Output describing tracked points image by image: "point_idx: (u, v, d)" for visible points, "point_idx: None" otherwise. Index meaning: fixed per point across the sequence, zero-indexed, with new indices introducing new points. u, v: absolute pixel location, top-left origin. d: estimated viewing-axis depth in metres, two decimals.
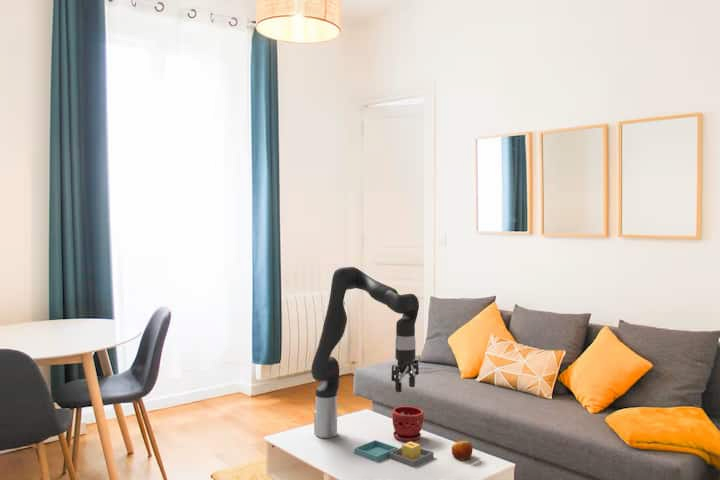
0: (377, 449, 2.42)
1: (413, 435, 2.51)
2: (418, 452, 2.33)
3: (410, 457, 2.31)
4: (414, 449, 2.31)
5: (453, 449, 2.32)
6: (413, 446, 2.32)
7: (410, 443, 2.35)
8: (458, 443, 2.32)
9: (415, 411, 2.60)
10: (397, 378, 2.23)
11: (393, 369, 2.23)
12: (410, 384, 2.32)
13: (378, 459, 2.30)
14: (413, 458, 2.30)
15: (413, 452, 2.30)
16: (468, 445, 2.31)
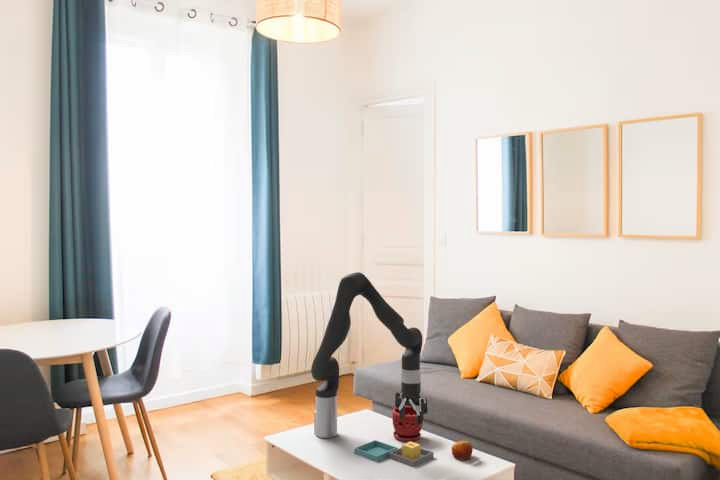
0: (377, 449, 2.42)
1: (413, 435, 2.51)
2: (418, 452, 2.33)
3: (410, 457, 2.31)
4: (414, 449, 2.31)
5: (453, 449, 2.32)
6: (413, 446, 2.32)
7: (410, 443, 2.35)
8: (458, 443, 2.32)
9: (415, 411, 2.60)
10: None
11: (424, 402, 2.27)
12: (402, 417, 2.35)
13: (378, 459, 2.30)
14: (413, 458, 2.30)
15: (413, 452, 2.30)
16: (468, 445, 2.31)
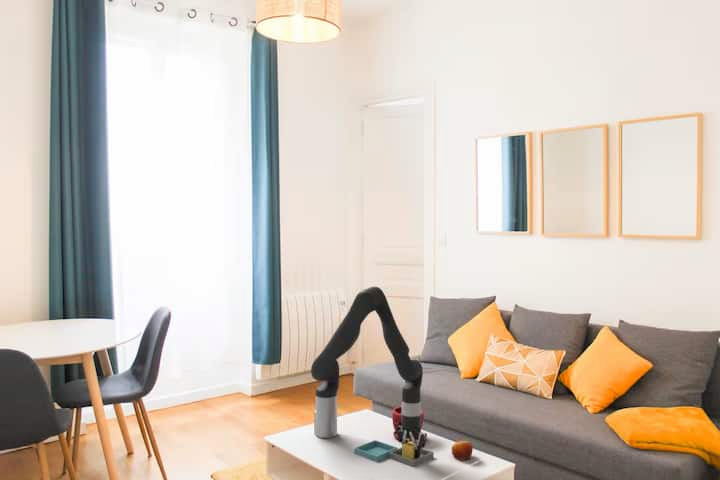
0: (377, 449, 2.42)
1: None
2: None
3: (410, 457, 2.31)
4: (414, 449, 2.31)
5: (453, 449, 2.32)
6: (413, 446, 2.32)
7: (410, 443, 2.35)
8: (458, 443, 2.32)
9: None
10: None
11: (423, 438, 2.28)
12: None
13: (378, 459, 2.30)
14: (413, 458, 2.30)
15: (413, 452, 2.30)
16: (468, 445, 2.31)
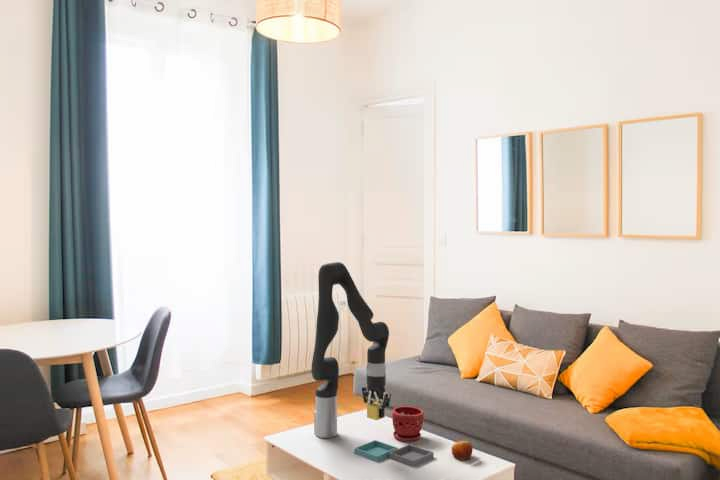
0: (377, 449, 2.42)
1: (413, 435, 2.51)
2: None
3: (374, 416, 2.35)
4: (378, 409, 2.35)
5: (453, 449, 2.32)
6: (377, 406, 2.36)
7: (375, 403, 2.39)
8: (458, 443, 2.32)
9: (415, 411, 2.60)
10: None
11: (387, 398, 2.33)
12: None
13: (378, 459, 2.30)
14: (377, 417, 2.35)
15: (377, 411, 2.35)
16: (468, 445, 2.31)
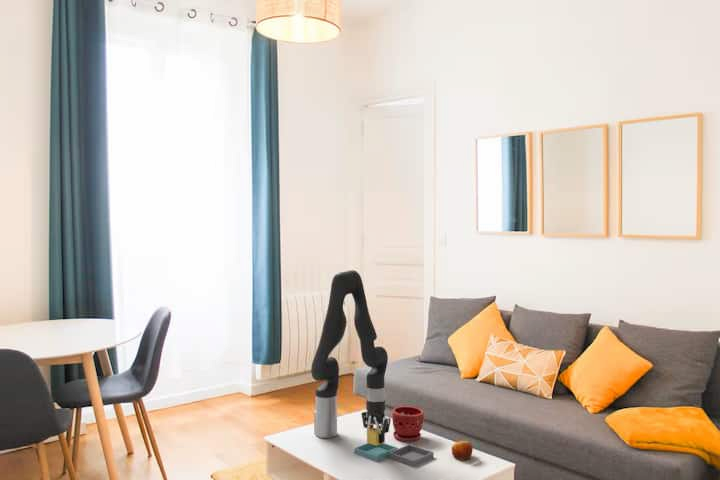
0: (377, 449, 2.42)
1: (413, 435, 2.51)
2: None
3: (374, 442, 2.35)
4: (378, 434, 2.35)
5: (453, 449, 2.32)
6: (377, 431, 2.36)
7: (375, 428, 2.39)
8: (458, 443, 2.32)
9: (415, 411, 2.60)
10: None
11: (387, 423, 2.33)
12: None
13: (378, 459, 2.30)
14: (377, 443, 2.35)
15: (377, 436, 2.35)
16: (468, 445, 2.31)
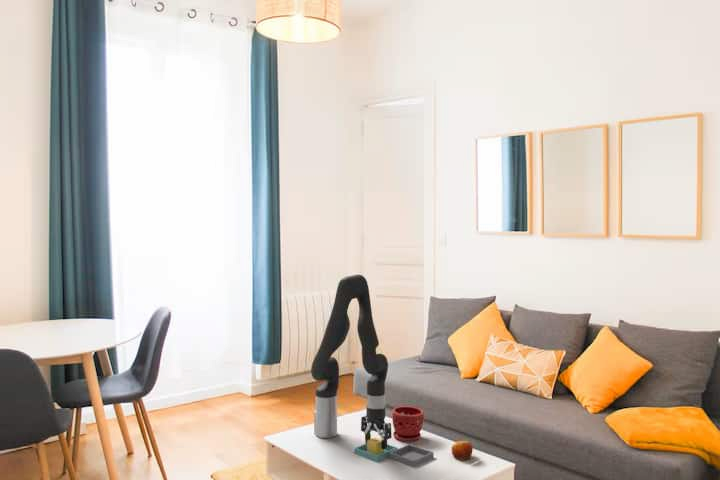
0: None
1: (413, 435, 2.51)
2: None
3: (374, 452, 2.35)
4: (378, 444, 2.36)
5: (453, 449, 2.32)
6: (377, 442, 2.36)
7: (375, 439, 2.39)
8: (458, 443, 2.32)
9: (415, 411, 2.60)
10: None
11: (388, 428, 2.33)
12: None
13: (378, 459, 2.30)
14: (377, 453, 2.35)
15: (377, 447, 2.35)
16: (468, 445, 2.31)
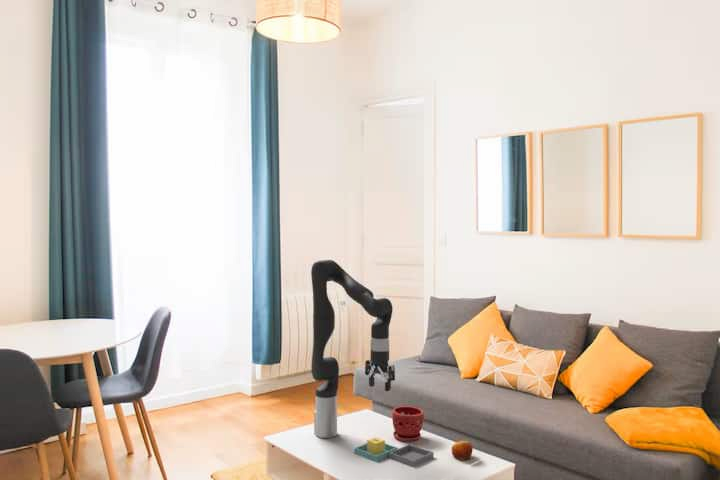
0: None
1: (413, 435, 2.51)
2: (383, 448, 2.37)
3: (374, 452, 2.35)
4: (378, 444, 2.36)
5: (453, 449, 2.32)
6: (377, 442, 2.36)
7: (375, 439, 2.39)
8: (458, 443, 2.32)
9: (415, 411, 2.60)
10: None
11: (391, 370, 2.36)
12: (371, 384, 2.44)
13: (378, 459, 2.30)
14: (377, 453, 2.35)
15: (377, 447, 2.35)
16: (468, 445, 2.31)
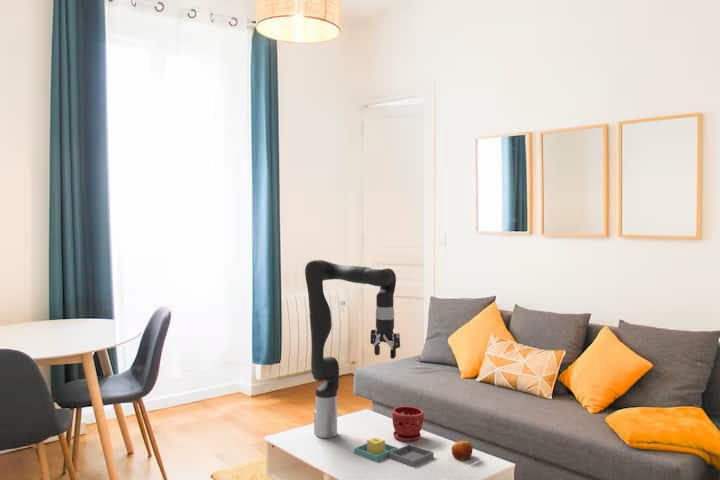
0: None
1: (413, 435, 2.51)
2: (383, 448, 2.37)
3: (374, 452, 2.35)
4: (378, 444, 2.36)
5: (453, 449, 2.32)
6: (377, 442, 2.36)
7: (375, 439, 2.39)
8: (458, 443, 2.32)
9: (415, 411, 2.60)
10: None
11: (396, 337, 2.43)
12: (377, 352, 2.51)
13: (378, 459, 2.30)
14: (377, 453, 2.35)
15: (377, 447, 2.35)
16: (468, 445, 2.31)
